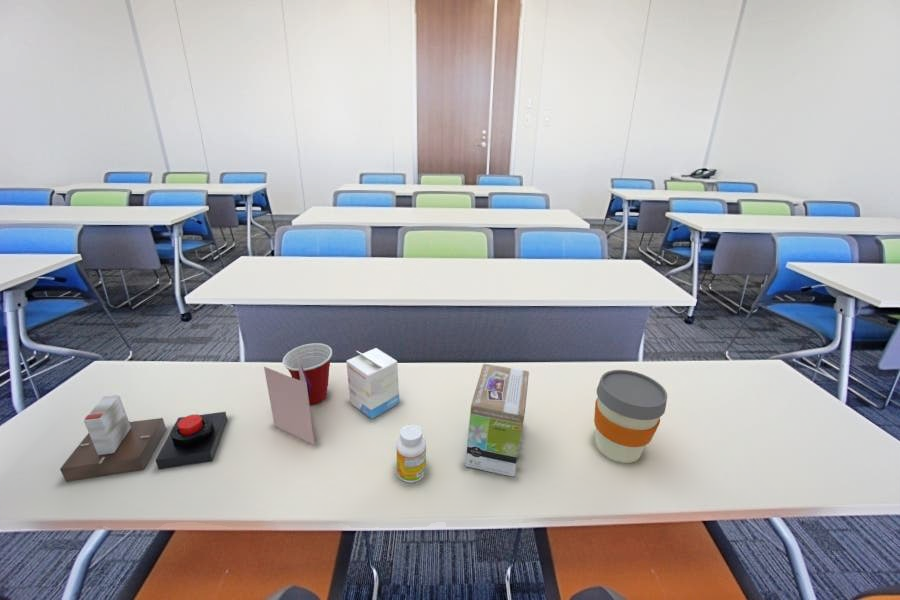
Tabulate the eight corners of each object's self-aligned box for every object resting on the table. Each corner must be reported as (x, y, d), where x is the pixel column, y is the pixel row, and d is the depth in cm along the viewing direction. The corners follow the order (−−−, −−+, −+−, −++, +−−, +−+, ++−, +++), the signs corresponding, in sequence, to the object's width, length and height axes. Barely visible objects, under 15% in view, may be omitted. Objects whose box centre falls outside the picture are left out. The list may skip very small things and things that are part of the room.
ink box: (400, 403, 93) (399, 354, 88) (370, 420, 88) (367, 368, 82) (377, 387, 99) (375, 340, 93) (348, 402, 93) (344, 353, 88)
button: (176, 436, 76) (174, 429, 75) (183, 422, 80) (181, 416, 79) (199, 433, 77) (198, 426, 76) (205, 420, 81) (204, 413, 80)
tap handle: (116, 429, 78) (103, 395, 75) (131, 427, 79) (119, 393, 76) (97, 455, 72) (82, 419, 69) (114, 453, 73) (99, 417, 69)
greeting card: (319, 443, 81) (311, 382, 75) (280, 455, 77) (268, 392, 71) (308, 410, 90) (301, 353, 84) (273, 420, 87) (262, 361, 81)
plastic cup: (285, 390, 96) (279, 348, 91) (331, 380, 101) (327, 338, 96) (292, 418, 87) (284, 372, 83) (341, 404, 92) (337, 360, 87)
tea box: (516, 478, 74) (525, 415, 68) (464, 467, 76) (468, 405, 70) (522, 425, 88) (529, 369, 82) (477, 417, 90) (481, 361, 84)
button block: (158, 469, 73) (152, 452, 72) (180, 425, 84) (176, 410, 82) (212, 461, 76) (208, 444, 74) (227, 419, 86) (224, 404, 85)
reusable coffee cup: (592, 418, 91) (604, 362, 85) (652, 438, 85) (669, 380, 79) (580, 454, 80) (593, 393, 75) (648, 479, 75) (668, 416, 69)
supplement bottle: (397, 461, 77) (396, 421, 73) (425, 460, 78) (425, 420, 74) (396, 484, 72) (395, 443, 68) (426, 482, 73) (426, 441, 69)
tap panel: (65, 482, 70) (58, 468, 69) (98, 437, 80) (93, 425, 79) (143, 470, 73) (138, 457, 72) (166, 428, 83) (162, 416, 82)
